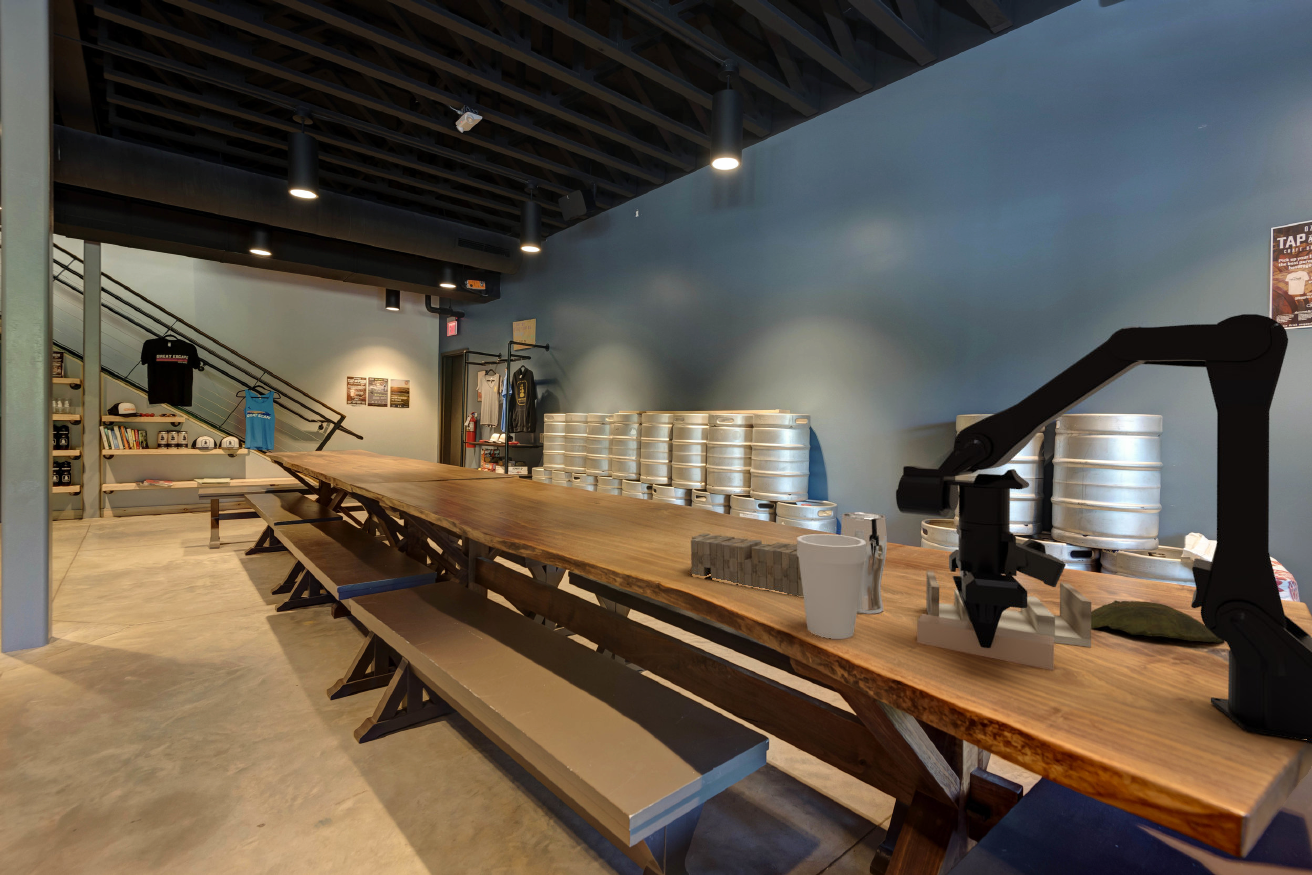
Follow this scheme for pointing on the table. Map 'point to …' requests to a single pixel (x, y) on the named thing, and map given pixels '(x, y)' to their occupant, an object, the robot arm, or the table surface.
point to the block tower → (747, 562)
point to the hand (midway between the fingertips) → (982, 641)
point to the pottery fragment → (1151, 621)
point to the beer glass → (869, 556)
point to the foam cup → (831, 582)
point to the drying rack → (1028, 614)
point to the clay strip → (1003, 647)
